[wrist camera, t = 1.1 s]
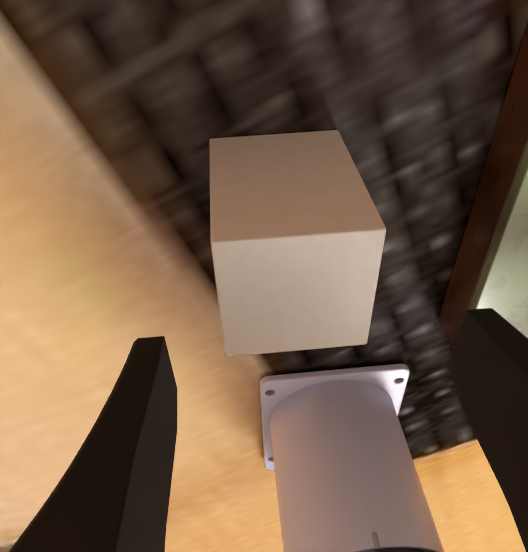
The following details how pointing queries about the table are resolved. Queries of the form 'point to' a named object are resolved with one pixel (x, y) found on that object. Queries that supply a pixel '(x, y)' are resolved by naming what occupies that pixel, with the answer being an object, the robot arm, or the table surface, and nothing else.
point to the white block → (292, 243)
